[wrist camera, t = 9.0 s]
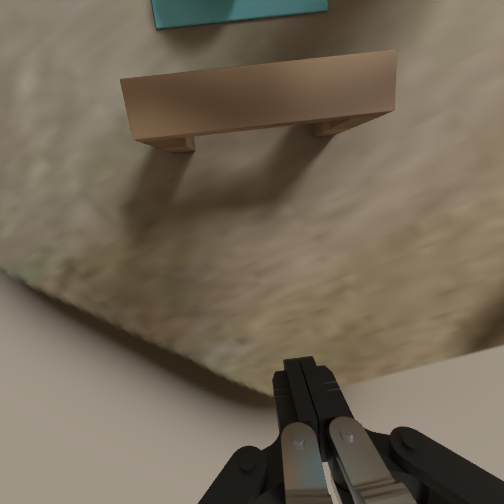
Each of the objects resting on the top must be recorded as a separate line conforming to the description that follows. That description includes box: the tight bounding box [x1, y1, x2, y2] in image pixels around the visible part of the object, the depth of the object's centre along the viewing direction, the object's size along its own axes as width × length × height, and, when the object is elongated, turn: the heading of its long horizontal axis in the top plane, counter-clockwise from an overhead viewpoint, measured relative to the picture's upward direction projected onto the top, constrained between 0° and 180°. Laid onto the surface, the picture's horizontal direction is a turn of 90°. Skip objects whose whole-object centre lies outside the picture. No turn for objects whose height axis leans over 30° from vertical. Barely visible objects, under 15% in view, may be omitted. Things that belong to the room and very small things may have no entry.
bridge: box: [120, 49, 397, 153], centre depth 19 cm, size 3×15×10 cm, turn 96°
